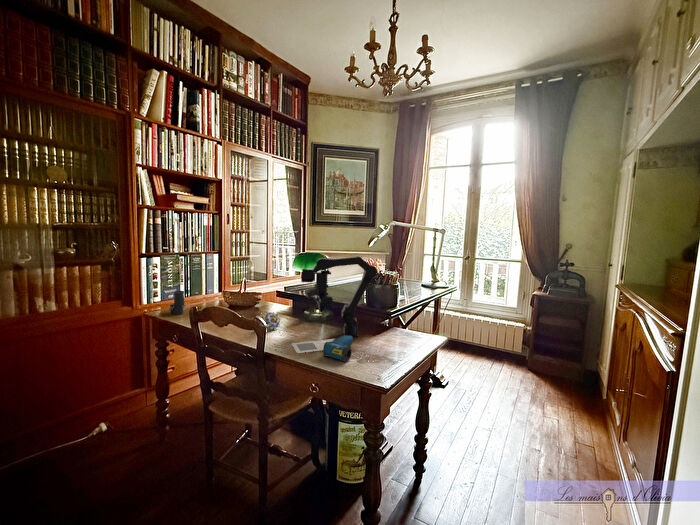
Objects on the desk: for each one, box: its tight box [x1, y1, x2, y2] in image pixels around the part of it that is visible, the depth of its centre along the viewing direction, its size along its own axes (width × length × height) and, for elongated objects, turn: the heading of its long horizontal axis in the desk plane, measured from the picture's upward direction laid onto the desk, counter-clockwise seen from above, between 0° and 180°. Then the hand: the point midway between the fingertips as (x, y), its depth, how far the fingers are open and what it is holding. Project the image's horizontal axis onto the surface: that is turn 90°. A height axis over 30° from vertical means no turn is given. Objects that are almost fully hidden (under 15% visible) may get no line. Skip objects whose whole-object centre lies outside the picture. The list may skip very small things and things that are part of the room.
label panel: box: [291, 338, 335, 354], centre depth 150 cm, size 24×12×1 cm, turn 113°
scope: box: [167, 290, 186, 316], centre depth 192 cm, size 8×14×10 cm
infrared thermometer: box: [322, 334, 354, 363], centre depth 143 cm, size 6×13×20 cm
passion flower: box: [260, 310, 282, 332], centre depth 172 cm, size 11×11×12 cm
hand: (320, 312), depth 164 cm, fingers closed
